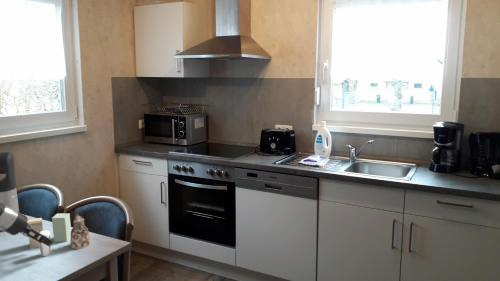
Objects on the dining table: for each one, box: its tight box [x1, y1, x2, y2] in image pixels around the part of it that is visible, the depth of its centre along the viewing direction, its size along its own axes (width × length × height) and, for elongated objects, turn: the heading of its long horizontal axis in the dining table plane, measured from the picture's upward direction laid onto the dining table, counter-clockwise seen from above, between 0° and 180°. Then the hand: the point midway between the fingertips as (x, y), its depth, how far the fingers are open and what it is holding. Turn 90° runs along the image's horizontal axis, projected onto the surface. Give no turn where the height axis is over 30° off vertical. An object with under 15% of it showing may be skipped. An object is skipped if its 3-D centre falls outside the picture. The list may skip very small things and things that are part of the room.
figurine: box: [70, 213, 91, 250], centre depth 160 cm, size 7×7×12 cm
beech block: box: [27, 217, 44, 250], centre depth 160 cm, size 5×5×10 cm
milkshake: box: [37, 229, 51, 257], centre depth 152 cm, size 4×5×10 cm
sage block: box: [51, 212, 72, 243], centre depth 165 cm, size 5×5×10 cm
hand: (46, 240), depth 152 cm, fingers open, 8 cm apart
